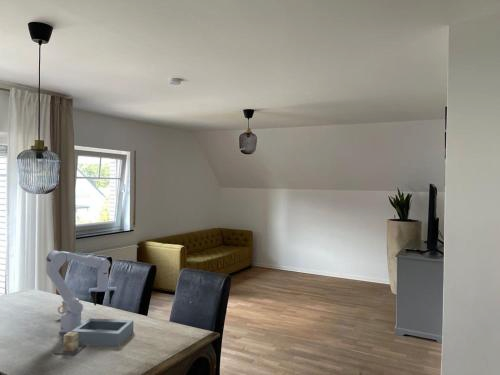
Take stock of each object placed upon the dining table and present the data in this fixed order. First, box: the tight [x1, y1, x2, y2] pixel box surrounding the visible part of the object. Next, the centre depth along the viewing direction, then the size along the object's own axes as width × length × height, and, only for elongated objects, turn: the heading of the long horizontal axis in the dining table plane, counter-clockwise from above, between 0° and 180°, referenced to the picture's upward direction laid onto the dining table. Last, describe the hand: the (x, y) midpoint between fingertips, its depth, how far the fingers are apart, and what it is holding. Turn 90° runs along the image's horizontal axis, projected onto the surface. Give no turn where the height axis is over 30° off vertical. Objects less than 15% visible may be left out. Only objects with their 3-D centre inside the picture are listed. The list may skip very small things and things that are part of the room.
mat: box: [53, 344, 87, 356], centre depth 179 cm, size 10×10×1 cm
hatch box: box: [71, 317, 134, 347], centre depth 194 cm, size 24×18×6 cm
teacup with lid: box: [57, 297, 80, 316], centre depth 224 cm, size 12×9×12 cm
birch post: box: [63, 332, 79, 351], centre depth 179 cm, size 4×4×7 cm
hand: (102, 304), depth 214 cm, fingers open, 7 cm apart
